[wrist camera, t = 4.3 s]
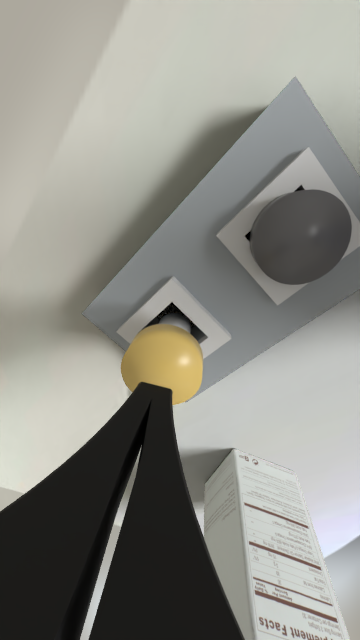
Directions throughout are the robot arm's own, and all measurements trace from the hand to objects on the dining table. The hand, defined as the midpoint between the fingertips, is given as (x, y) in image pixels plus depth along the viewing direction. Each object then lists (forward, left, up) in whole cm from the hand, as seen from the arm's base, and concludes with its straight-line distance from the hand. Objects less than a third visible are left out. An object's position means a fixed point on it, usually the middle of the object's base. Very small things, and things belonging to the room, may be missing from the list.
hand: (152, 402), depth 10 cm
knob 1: (0, 0, -7) cm, 7 cm away
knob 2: (0, -9, -9) cm, 12 cm away
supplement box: (-19, +8, -10) cm, 23 cm away
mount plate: (0, -4, -9) cm, 10 cm away
